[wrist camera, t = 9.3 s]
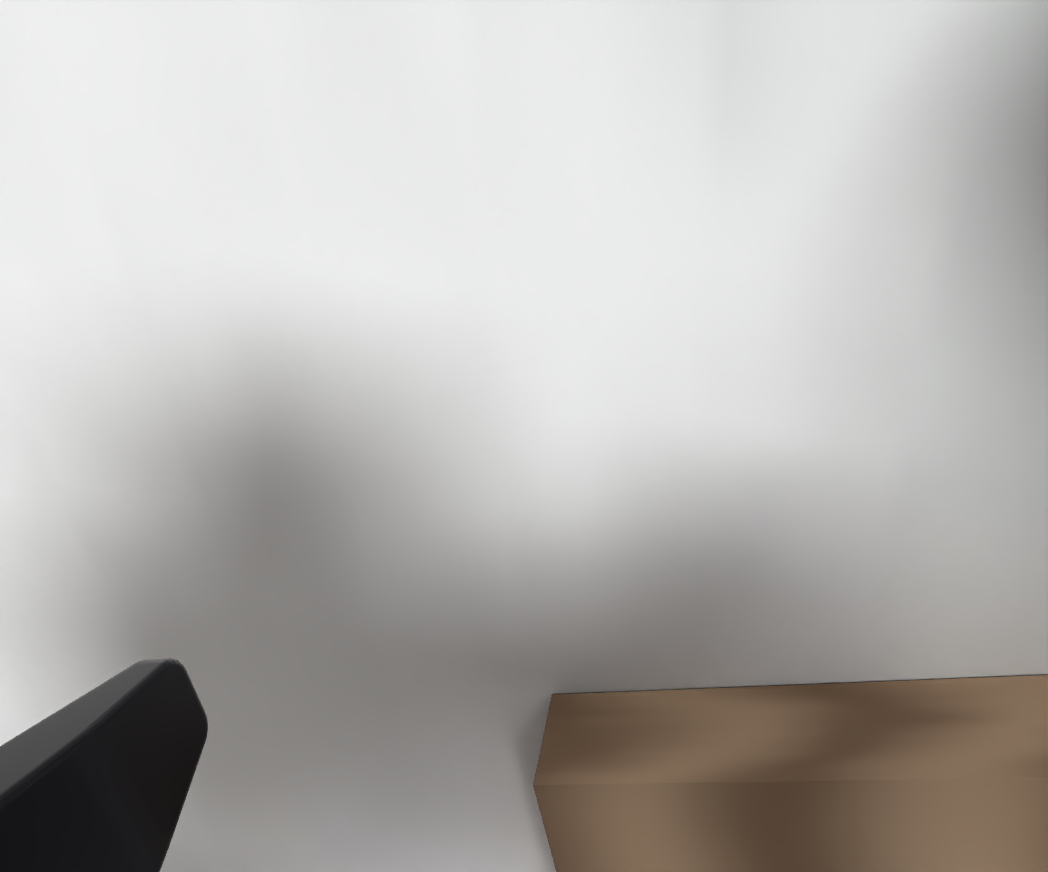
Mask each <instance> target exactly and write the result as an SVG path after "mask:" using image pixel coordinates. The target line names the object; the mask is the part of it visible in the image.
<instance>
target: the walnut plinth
mask: <svg viewBox="0 0 1048 872" xmlns="http://www.w3.org/2000/svg"><path fill="white" fill-rule="evenodd" d="M533 786H534V789H535V793H536V797H537V801H538V804H539V808H540V812H541V816H542V819H543V823H544V827H545V830H546V834H547V838H548V842H549V845H550V849H551V853H552V856H553V860H554V864H555V868H556V871H557V872H1048V675H1032V676H1007V677H982V678H957V679H932V680H907V681H881V682H856V683H831V684H806V685H781V686H756V687H731V688H706V689H681V690H656V691H631V692H606V693H580V694H555V695H552V697H551V702H550V707H549V712H548V717H547V722H546V727H545V731H544V736H543V741H542V746H541V751H540V756H539V760H538V765H537V770H536V775H535V780H534V785H533Z"/></svg>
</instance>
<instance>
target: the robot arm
mask: <svg viewBox="0 0 1048 872" xmlns="http://www.w3.org/2000/svg"><path fill="white" fill-rule="evenodd" d="M207 731H208V723H207V717H206V714H205V711H204V709H203V707H202V704H201V702H200V700H199V698H198V696H197V693H196V691H195V689H194V687H193V684H192V682H191V680H190V678H189V675H188V673H187V671H186V669H185V667H184V666H183V665H182V664H181V663H180V662H179V661H178V660H174V659H155V660H144V661H140V662H138V663H136V664H134V665H132V666H131V667H129V668H127V669H126V670H124V671H123V672H121V673H119V674H118V675H116V676H114V677H113V678H111V679H109V680H108V681H106V682H105V683H103V684H101V685H100V686H98V687H96V688H95V689H93V690H91V691H90V692H88V693H87V694H85V695H83V696H82V697H80V698H78V699H77V700H75V701H73V702H72V703H70V704H69V705H67V706H65V707H64V708H62V709H60V710H59V711H57V712H56V713H54V714H52V715H51V716H49V717H47V718H46V719H44V720H42V721H41V722H39V723H38V724H36V725H34V726H33V727H31V728H29V729H28V730H26V731H24V732H23V733H21V734H20V735H18V736H16V737H15V738H13V739H11V740H10V741H8V742H7V743H5V744H3V745H2V746H0V872H160V869H161V867H162V864H163V861H164V859H165V856H166V853H167V851H168V848H169V845H170V842H171V839H172V836H173V833H174V831H175V828H176V825H177V822H178V819H179V816H180V813H181V810H182V808H183V805H184V802H185V799H186V796H187V793H188V790H189V787H190V784H191V782H192V779H193V776H194V773H195V770H196V767H197V764H198V761H199V759H200V756H201V753H202V750H203V747H204V744H205V741H206V737H207Z"/></svg>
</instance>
